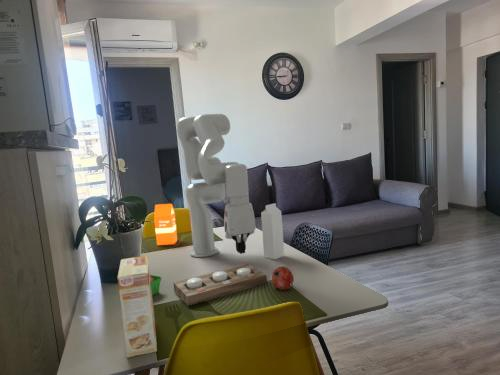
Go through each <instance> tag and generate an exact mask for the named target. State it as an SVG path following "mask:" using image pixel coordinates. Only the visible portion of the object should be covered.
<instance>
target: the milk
mask: <svg viewBox="0 0 500 375" xmlns="http://www.w3.org/2000/svg"><path fill="white" fill-rule="evenodd" d="M260 216H261V219H260V220H261V231H262V233H261V234H262V244H263V257H264V258H266V259H270V260H274V261H275V260H277V259H281V258H282V257H284V256H285V246H284V233H283V232H284V230H283V229H284V228H283V217H282V216H283V215H282V211H281V209H279V208H278V207H277V203H276V202H275V203H270V204H267V205H265V209H264V210H262V211H261V213H260Z"/></svg>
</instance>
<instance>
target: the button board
mask: <svg viewBox="0 0 500 375" xmlns="http://www.w3.org/2000/svg"><path fill="white" fill-rule="evenodd" d="M241 268H249V269H250V270H251V274H248V275H244V276H241V277H240V276H238V275H237V270H238V269H241ZM221 271H223V272H226V273H227V280H226V281H222V282H218V283H214V282H213V273H215V272H221ZM192 278H201V279H202V287H200V288H196V289H193V290H188V288H187V280H189V279H192ZM264 284H268V276H267V273H265V272H263V271H262V270H259V269H257V268H256V267H254V266H252V265H250V264H248V263H244V264H239V265H236V266H233V267H228V268H225V269H221V270H217V271H213V272H209V273H205V274H201V275H197V276H193V277H189V278H185V279H181V280H178V281H177V280H176V281H173V290H174V291H173V292H174V293H175V294H177V295H178V297H179V298H180V299H181V301H183V302H184V304H186V306H188V307H189V305H190V306H192V304H193V305H195V303H196V304H199V303H198V302H200V303H203V302H206V301H205V300H207V301H210V300H213V299H212V298H214V299H216V297H217V298H219V297H220V298H221V297H224V296H227V295H231V294H233V293H238V292H241V291H244V290H247V289H251V288H254V287H258V286H261V285H264ZM230 293H231V294H230ZM223 295H224V296H223ZM209 299H210V300H209ZM202 301H203V302H202Z"/></svg>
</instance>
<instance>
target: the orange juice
mask: <svg viewBox="0 0 500 375" xmlns="http://www.w3.org/2000/svg"><path fill="white" fill-rule="evenodd" d="M153 214H154V216H153V220H154V230H155V239H156V245H157V246H164V245H165V246H166V245H167V246H168V245H175V244H176V243H177V241H178V235H177V234H178V232H177V223H176V213H175V209H174V206H173V204H172V203H160V204H155V205H154V213H153Z"/></svg>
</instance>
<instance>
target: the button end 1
mask: <svg viewBox="0 0 500 375" xmlns="http://www.w3.org/2000/svg"><path fill="white" fill-rule="evenodd" d="M191 278H192V277H191ZM188 279H189V278H188ZM200 287H202V279H201V278H192V279H189V280H187V288H188V290H193V289H196V288H200Z"/></svg>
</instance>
